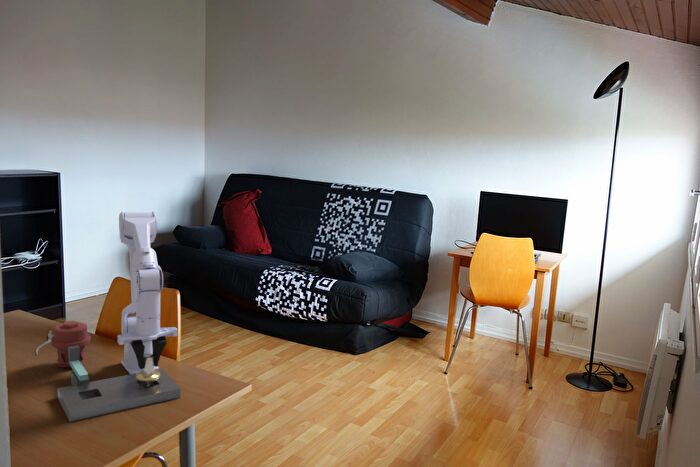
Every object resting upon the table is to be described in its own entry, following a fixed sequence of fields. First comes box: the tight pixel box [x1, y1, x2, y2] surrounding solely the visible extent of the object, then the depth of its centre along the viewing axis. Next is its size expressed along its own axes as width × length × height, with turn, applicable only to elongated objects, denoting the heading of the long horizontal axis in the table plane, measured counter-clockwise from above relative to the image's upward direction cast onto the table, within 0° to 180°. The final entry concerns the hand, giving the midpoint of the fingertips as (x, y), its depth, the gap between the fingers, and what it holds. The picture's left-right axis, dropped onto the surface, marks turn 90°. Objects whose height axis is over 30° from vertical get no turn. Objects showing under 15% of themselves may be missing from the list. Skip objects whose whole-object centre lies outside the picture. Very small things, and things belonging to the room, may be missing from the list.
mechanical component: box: [50, 320, 92, 368], centre depth 165 cm, size 12×10×10 cm
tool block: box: [56, 368, 181, 423], centre depth 152 cm, size 21×26×3 cm
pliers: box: [34, 330, 54, 356], centre depth 181 cm, size 10×1×20 cm
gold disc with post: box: [136, 354, 160, 387], centre depth 152 cm, size 6×6×8 cm
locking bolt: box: [68, 345, 89, 381], centre depth 154 cm, size 12×2×5 cm, turn 36°
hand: (148, 366), depth 152 cm, fingers closed on gold disc with post, 3 cm apart
